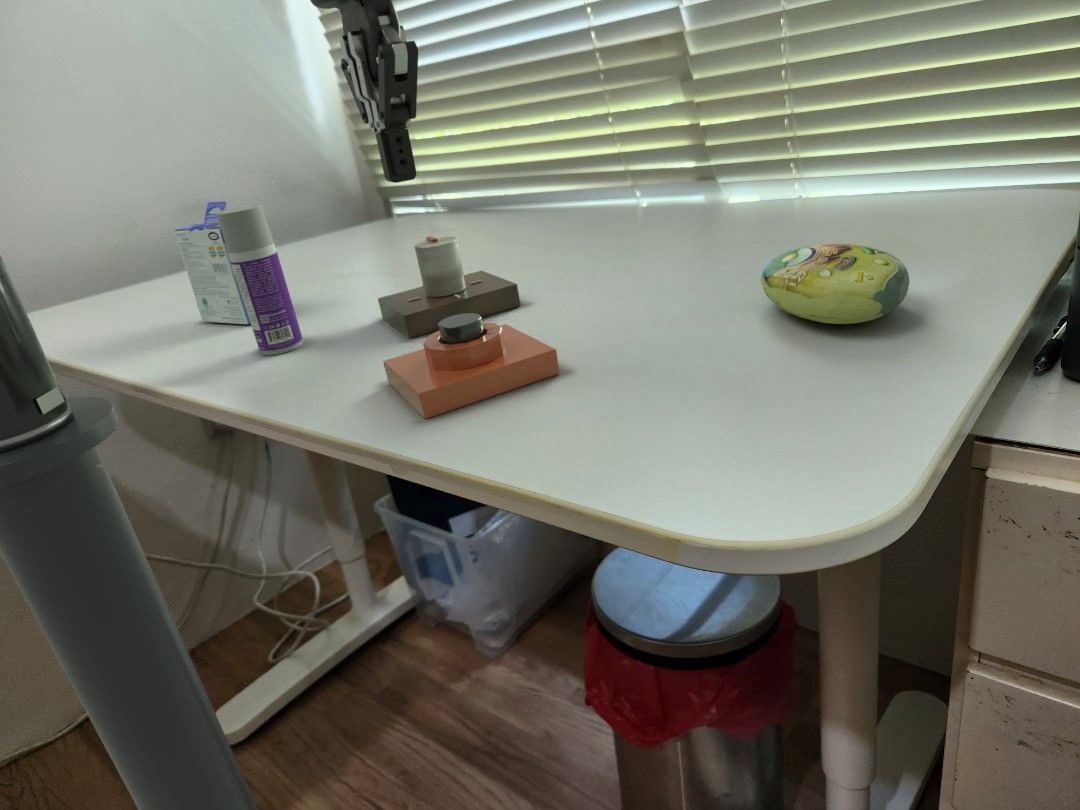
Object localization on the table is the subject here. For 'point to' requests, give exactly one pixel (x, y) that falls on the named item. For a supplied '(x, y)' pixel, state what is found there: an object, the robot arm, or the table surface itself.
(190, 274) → the ink cartridge box
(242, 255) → the container
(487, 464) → the table surface
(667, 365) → the table surface
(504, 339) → the button housing
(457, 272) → the dial
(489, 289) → the dial panel
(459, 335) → the button
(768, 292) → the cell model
